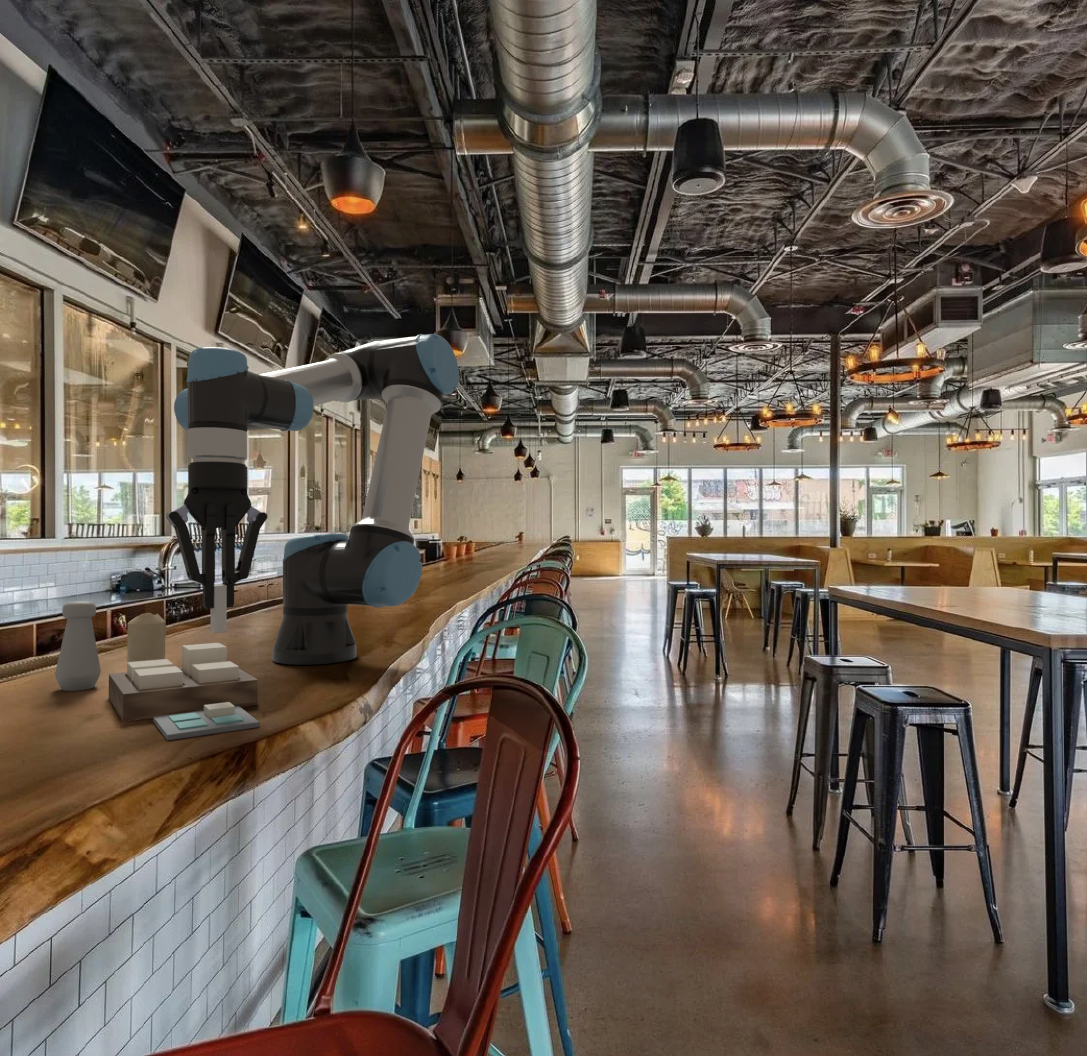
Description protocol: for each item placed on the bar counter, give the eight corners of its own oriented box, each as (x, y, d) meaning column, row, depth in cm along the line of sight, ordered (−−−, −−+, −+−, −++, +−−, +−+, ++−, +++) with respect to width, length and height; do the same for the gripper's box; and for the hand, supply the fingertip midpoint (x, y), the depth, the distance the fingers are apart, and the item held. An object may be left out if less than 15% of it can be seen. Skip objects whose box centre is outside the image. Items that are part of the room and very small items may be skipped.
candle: (128, 672, 120) (129, 612, 121) (165, 669, 123) (166, 611, 123) (125, 678, 115) (126, 615, 116) (163, 675, 118) (164, 614, 118)
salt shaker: (46, 689, 106) (47, 602, 106) (86, 682, 111) (87, 599, 112) (68, 693, 104) (70, 604, 104) (108, 686, 109) (110, 601, 109)
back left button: (218, 667, 108) (218, 642, 108) (226, 672, 104) (226, 646, 104) (181, 670, 105) (182, 645, 105) (188, 676, 101) (189, 649, 101)
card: (238, 710, 95) (238, 698, 95) (259, 726, 87) (259, 713, 87) (152, 721, 89) (153, 708, 89) (167, 740, 81) (167, 726, 81)
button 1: (166, 684, 104) (166, 658, 104) (172, 690, 100) (173, 664, 100) (126, 688, 101) (127, 662, 101) (131, 695, 97) (132, 667, 97)
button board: (228, 684, 111) (229, 662, 111) (257, 704, 98) (257, 679, 98) (108, 697, 101) (108, 673, 101) (123, 721, 88) (123, 694, 88)
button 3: (229, 687, 102) (229, 661, 103) (238, 693, 98) (238, 666, 99) (191, 691, 99) (191, 664, 100) (198, 697, 95) (199, 670, 96)
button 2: (175, 693, 98) (175, 666, 98) (182, 699, 94) (182, 671, 94) (133, 697, 95) (134, 669, 95) (139, 704, 91) (139, 675, 91)
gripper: (259, 466, 106) (259, 624, 106) (161, 461, 98) (161, 632, 99) (274, 462, 100) (274, 630, 100) (170, 457, 92) (171, 639, 93)
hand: (218, 631), depth 100 cm, fingers closed
